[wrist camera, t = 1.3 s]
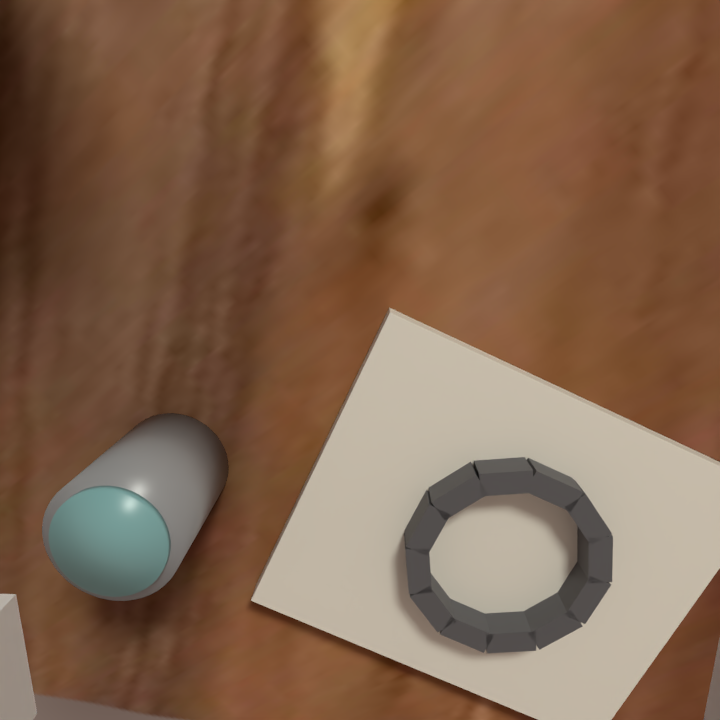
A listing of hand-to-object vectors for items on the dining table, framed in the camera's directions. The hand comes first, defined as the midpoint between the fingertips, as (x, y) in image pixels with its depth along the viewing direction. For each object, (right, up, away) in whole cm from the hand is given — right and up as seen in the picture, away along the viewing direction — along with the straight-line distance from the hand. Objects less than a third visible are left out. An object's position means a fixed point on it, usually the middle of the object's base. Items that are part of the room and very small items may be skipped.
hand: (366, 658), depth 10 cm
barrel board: (+8, -4, +21) cm, 23 cm away
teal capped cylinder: (-10, 0, +21) cm, 23 cm away
